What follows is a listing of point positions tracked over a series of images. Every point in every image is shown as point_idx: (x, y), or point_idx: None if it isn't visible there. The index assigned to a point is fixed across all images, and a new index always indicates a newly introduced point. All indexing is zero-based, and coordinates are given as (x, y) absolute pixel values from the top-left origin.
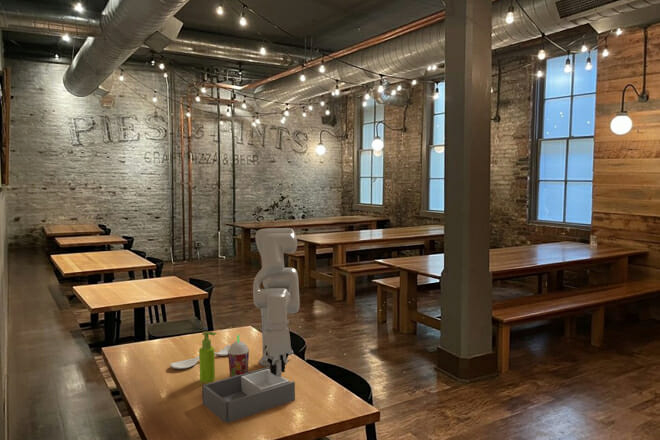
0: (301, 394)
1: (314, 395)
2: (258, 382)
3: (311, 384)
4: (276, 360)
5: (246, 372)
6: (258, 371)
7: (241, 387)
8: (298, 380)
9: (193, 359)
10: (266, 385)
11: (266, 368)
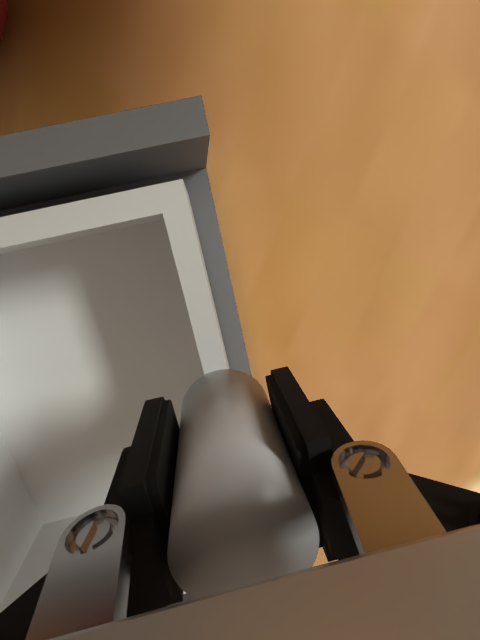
0: (343, 424)
1: (401, 463)
2: (67, 239)
3: (473, 312)
4: (235, 527)
5: None
6: (41, 171)
7: None
8: (438, 202)
9: None
10: (142, 280)
11: (165, 144)
